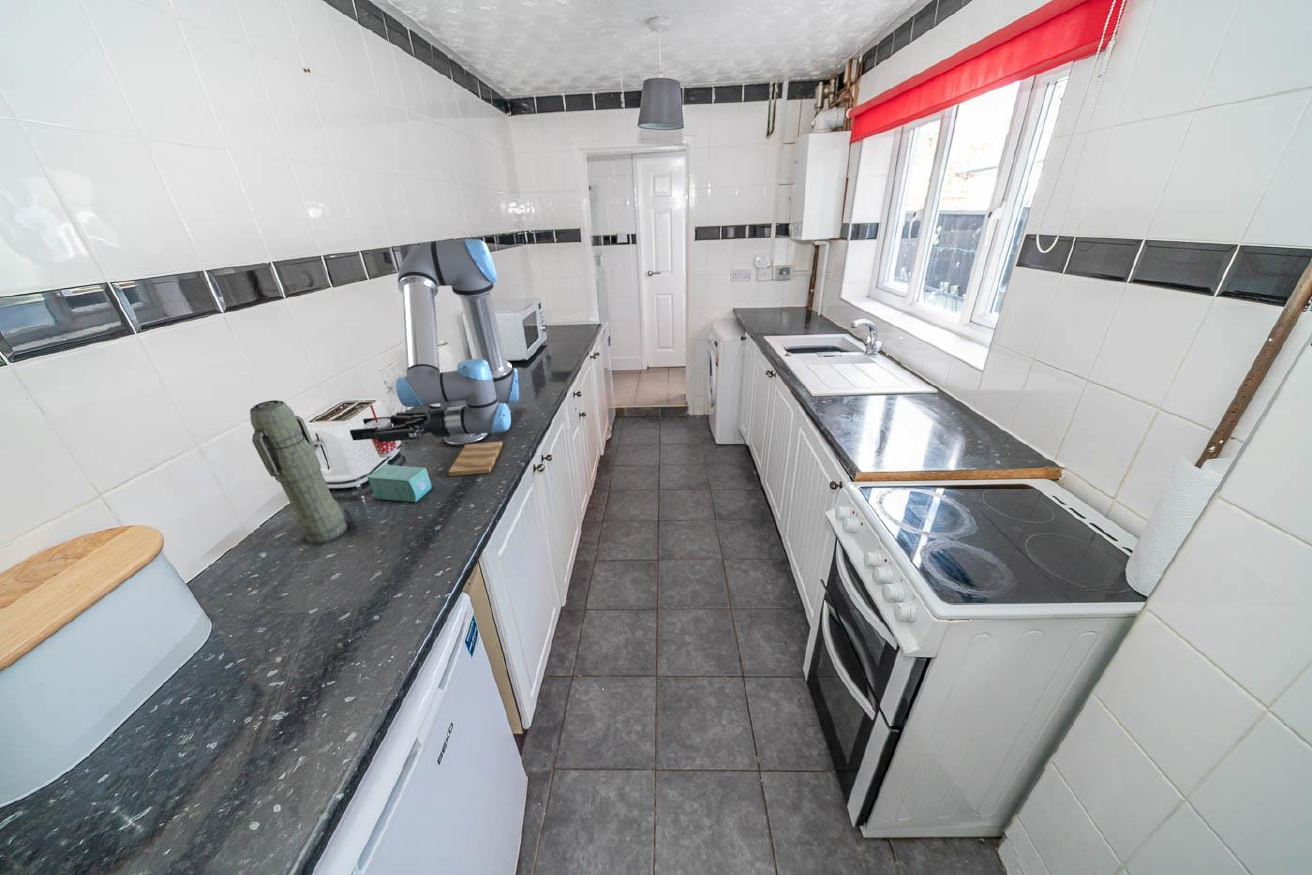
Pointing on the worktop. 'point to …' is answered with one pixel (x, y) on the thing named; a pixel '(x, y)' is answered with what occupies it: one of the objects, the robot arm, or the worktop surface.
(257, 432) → the thermos
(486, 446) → the chopping board
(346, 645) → the worktop surface
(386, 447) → the beverage cup
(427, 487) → the box
